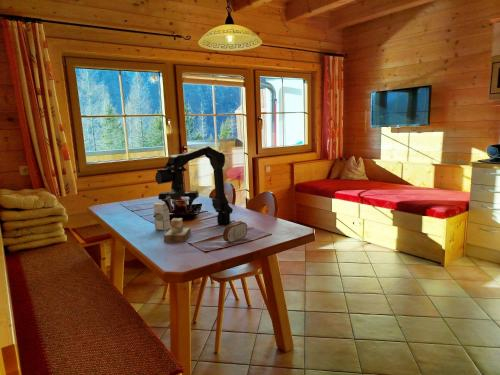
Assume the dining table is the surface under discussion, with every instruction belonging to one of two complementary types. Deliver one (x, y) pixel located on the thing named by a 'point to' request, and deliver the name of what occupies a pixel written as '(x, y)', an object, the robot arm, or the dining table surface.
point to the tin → (235, 231)
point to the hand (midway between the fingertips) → (180, 212)
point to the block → (177, 225)
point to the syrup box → (161, 216)
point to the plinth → (177, 236)
